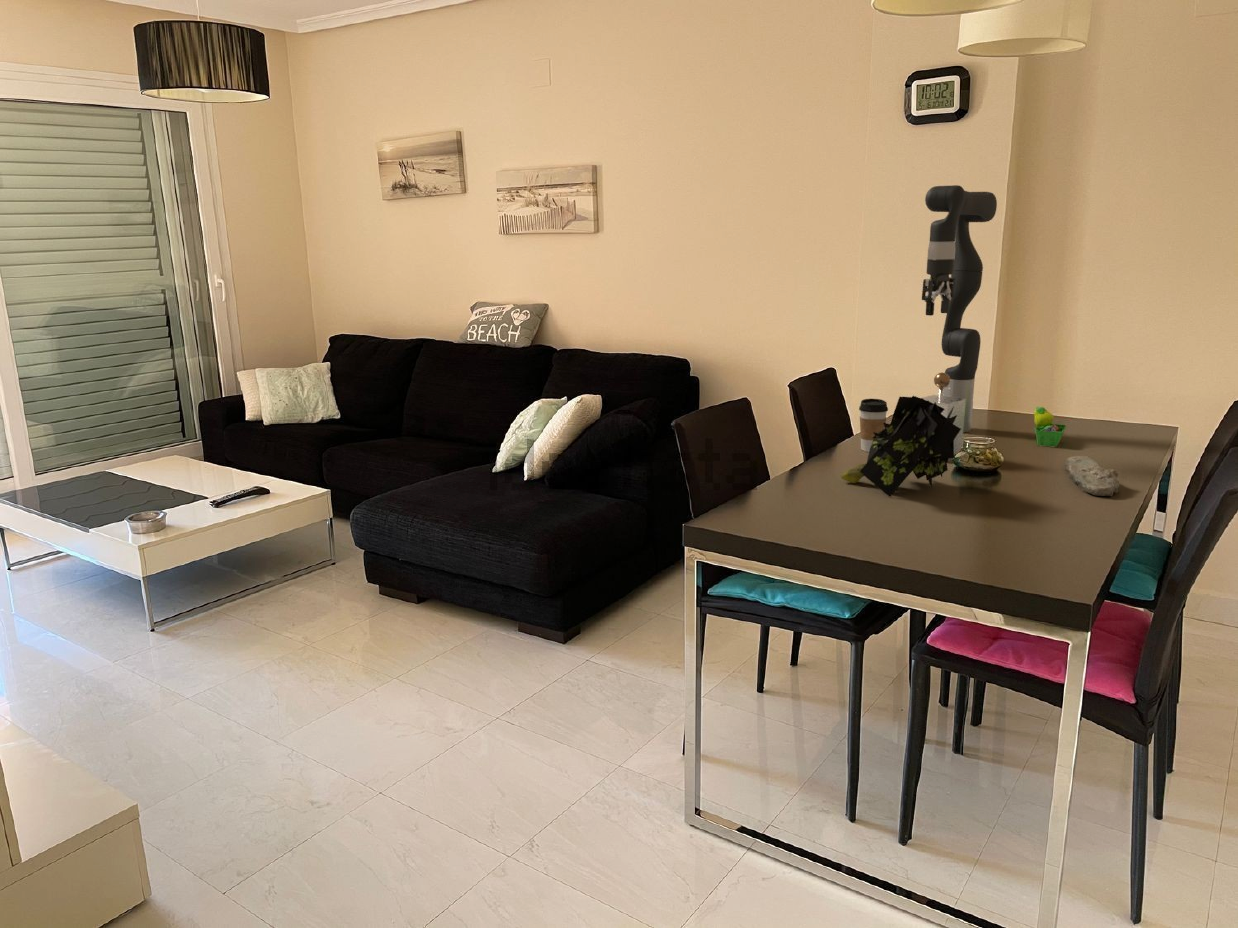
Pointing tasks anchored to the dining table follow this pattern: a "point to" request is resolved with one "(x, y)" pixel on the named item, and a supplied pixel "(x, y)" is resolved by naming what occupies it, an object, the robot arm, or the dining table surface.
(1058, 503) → the dining table surface
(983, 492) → the dining table surface
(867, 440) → the coffee cup
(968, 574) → the dining table surface
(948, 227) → the robot arm
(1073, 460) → the elongated rock
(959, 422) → the press
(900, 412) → the black leafy clump
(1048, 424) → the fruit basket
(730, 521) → the dining table surface
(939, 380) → the plunger
